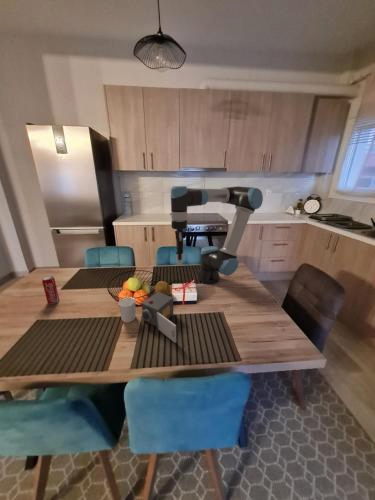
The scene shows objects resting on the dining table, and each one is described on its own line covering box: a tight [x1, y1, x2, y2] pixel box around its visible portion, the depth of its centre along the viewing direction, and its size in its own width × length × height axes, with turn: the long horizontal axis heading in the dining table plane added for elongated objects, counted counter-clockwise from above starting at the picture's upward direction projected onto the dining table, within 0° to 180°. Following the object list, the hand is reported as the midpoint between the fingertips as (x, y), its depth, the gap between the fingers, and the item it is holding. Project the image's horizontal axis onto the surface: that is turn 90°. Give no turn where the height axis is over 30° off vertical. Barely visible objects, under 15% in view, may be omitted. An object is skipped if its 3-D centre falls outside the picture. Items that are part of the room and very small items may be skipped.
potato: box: [154, 280, 171, 296], centre depth 122 cm, size 10×13×9 cm
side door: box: [156, 312, 177, 343], centre depth 92 cm, size 12×2×9 cm, turn 45°
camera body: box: [141, 292, 174, 328], centre depth 103 cm, size 14×10×11 cm
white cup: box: [118, 296, 137, 324], centre depth 103 cm, size 8×8×10 cm
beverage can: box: [41, 275, 60, 305], centre depth 115 cm, size 6×6×15 cm
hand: (179, 264), depth 108 cm, fingers closed
